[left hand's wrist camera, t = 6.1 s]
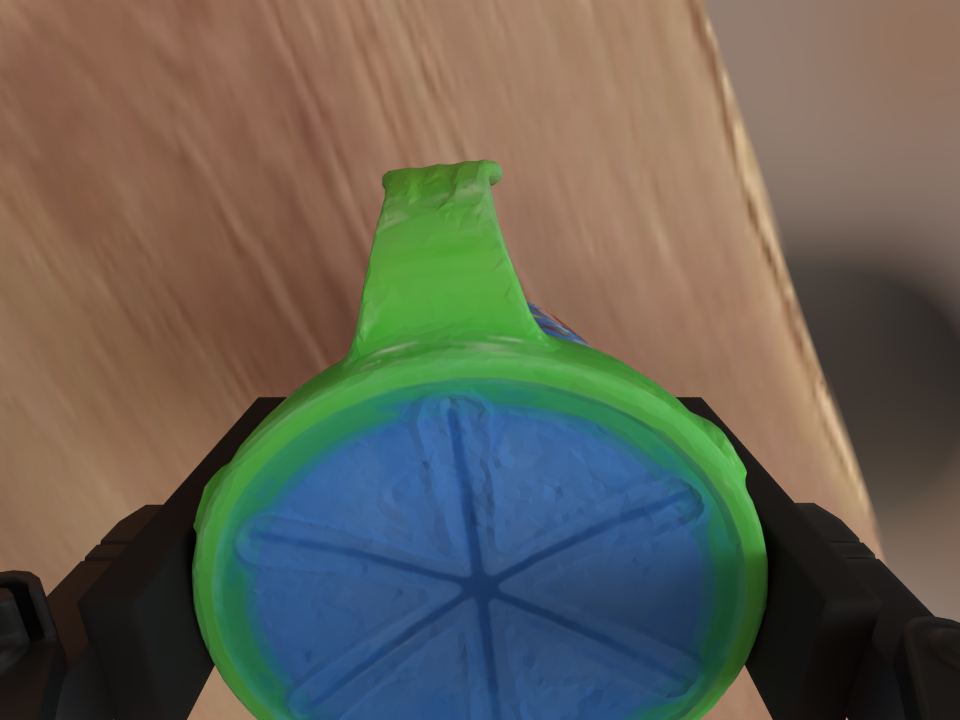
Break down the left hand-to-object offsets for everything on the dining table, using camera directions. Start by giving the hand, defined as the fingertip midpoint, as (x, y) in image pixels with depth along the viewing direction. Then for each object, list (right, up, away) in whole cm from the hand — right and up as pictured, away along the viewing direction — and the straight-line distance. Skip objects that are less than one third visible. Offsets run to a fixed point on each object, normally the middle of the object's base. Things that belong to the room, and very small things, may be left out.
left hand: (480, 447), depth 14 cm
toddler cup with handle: (0, +1, +3) cm, 3 cm away
